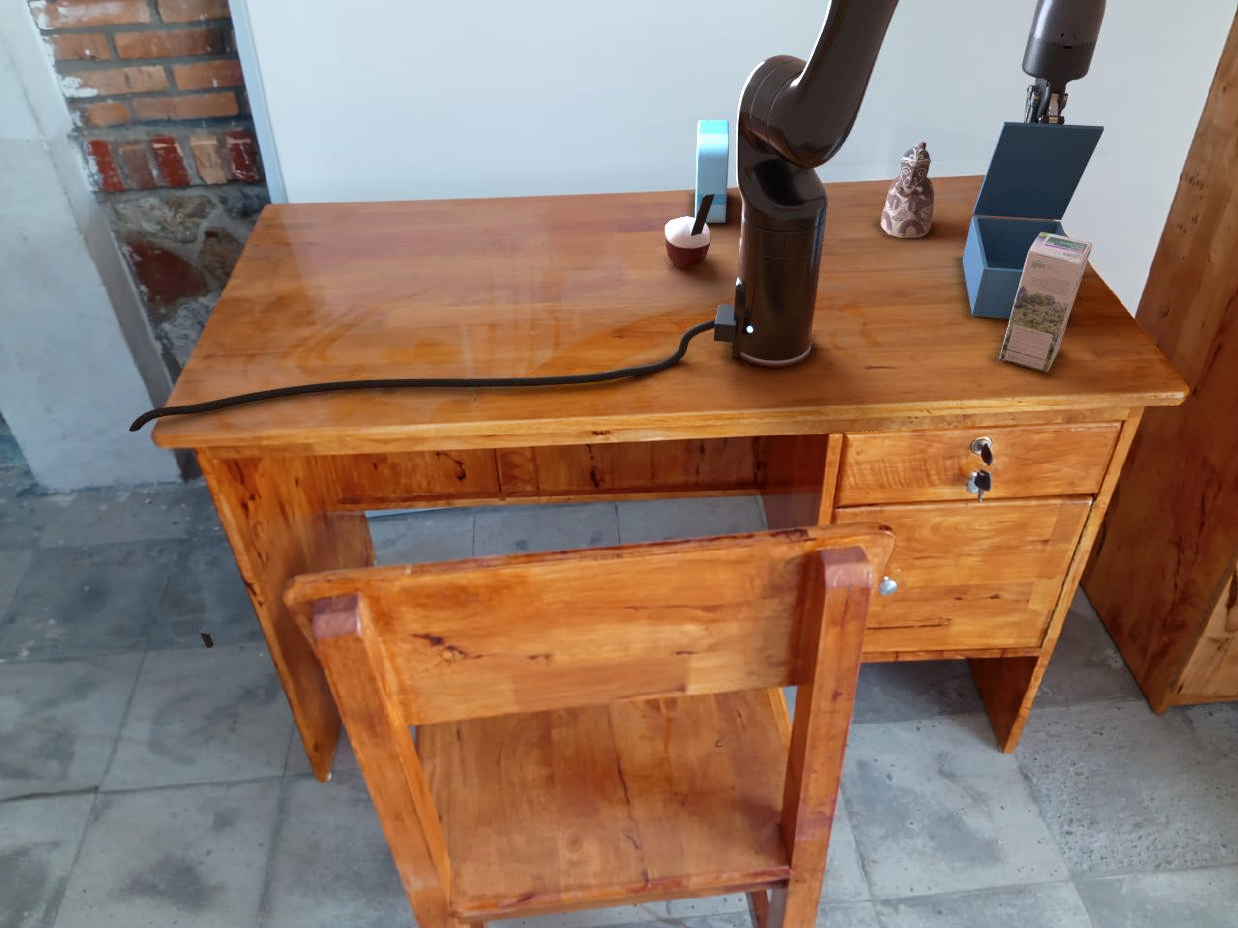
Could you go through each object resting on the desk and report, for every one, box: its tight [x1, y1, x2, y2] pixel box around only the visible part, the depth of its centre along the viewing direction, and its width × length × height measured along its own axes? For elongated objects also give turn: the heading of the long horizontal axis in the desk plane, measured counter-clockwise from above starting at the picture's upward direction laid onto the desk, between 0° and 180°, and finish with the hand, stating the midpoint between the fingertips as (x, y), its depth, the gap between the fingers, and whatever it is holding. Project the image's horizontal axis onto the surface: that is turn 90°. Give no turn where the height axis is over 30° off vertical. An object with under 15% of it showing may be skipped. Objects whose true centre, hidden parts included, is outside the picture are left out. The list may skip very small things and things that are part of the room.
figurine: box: [880, 141, 935, 239], centre depth 137 cm, size 7×7×12 cm
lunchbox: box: [962, 215, 1067, 320], centre depth 124 cm, size 15×11×7 cm
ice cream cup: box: [664, 194, 715, 268], centre depth 130 cm, size 10×6×12 cm, turn 2°
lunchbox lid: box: [972, 121, 1105, 221], centre depth 120 cm, size 16×11×1 cm
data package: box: [694, 120, 730, 224], centre depth 143 cm, size 12×4×12 cm, turn 175°
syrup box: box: [998, 232, 1093, 374], centre depth 109 cm, size 6×6×14 cm
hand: (1027, 174), depth 123 cm, fingers closed
